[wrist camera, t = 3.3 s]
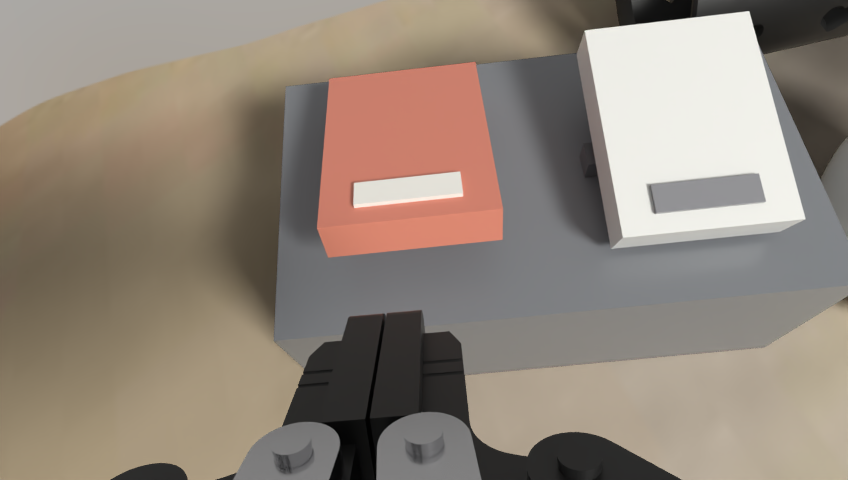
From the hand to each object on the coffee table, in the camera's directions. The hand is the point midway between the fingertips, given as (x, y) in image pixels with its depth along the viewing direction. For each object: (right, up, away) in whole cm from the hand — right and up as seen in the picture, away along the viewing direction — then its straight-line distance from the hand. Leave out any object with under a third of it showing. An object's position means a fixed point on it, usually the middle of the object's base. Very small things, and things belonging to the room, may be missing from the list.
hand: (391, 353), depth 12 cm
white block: (+10, +6, +10) cm, 15 cm away
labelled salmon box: (0, +5, +10) cm, 11 cm away
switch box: (+6, +2, +18) cm, 19 cm away
